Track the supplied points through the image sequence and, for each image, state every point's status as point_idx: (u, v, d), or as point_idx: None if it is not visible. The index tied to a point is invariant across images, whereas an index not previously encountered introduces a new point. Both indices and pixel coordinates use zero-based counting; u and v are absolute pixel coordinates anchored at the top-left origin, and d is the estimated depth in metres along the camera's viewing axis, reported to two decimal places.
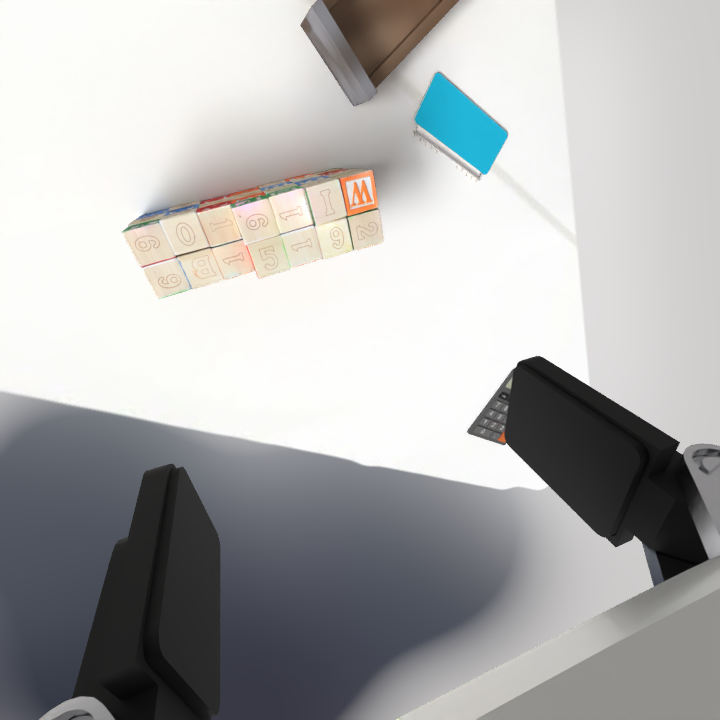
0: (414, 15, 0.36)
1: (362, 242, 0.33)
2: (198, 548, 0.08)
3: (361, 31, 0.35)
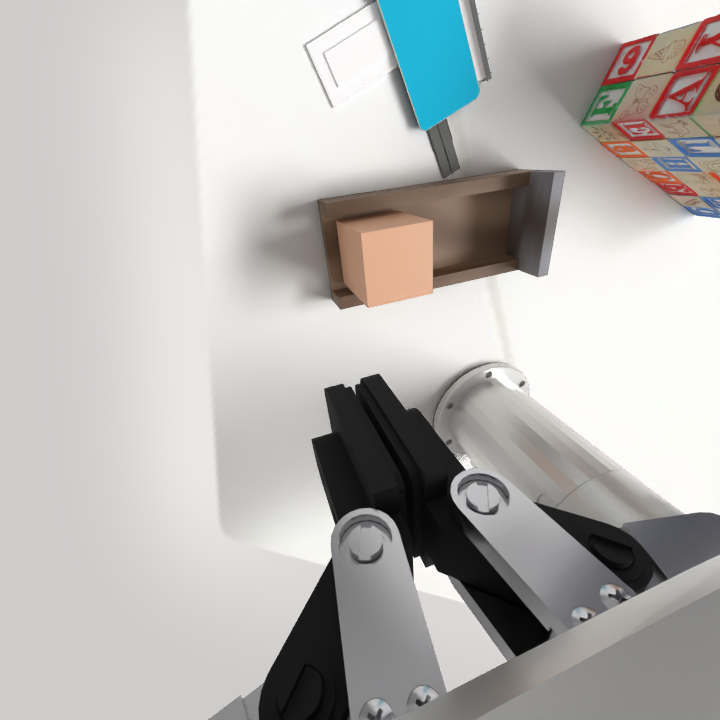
0: (422, 208, 0.29)
1: None
2: None
3: (476, 227, 0.32)
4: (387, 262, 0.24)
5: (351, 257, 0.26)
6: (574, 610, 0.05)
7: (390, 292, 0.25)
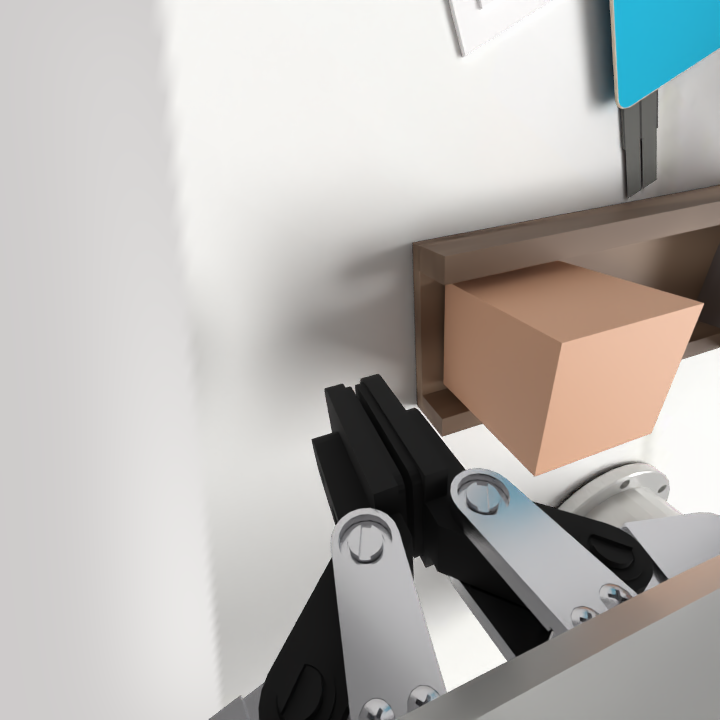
0: None
1: None
2: None
3: (661, 280, 0.19)
4: (593, 393, 0.11)
5: (490, 363, 0.13)
6: (574, 610, 0.05)
7: (582, 444, 0.12)
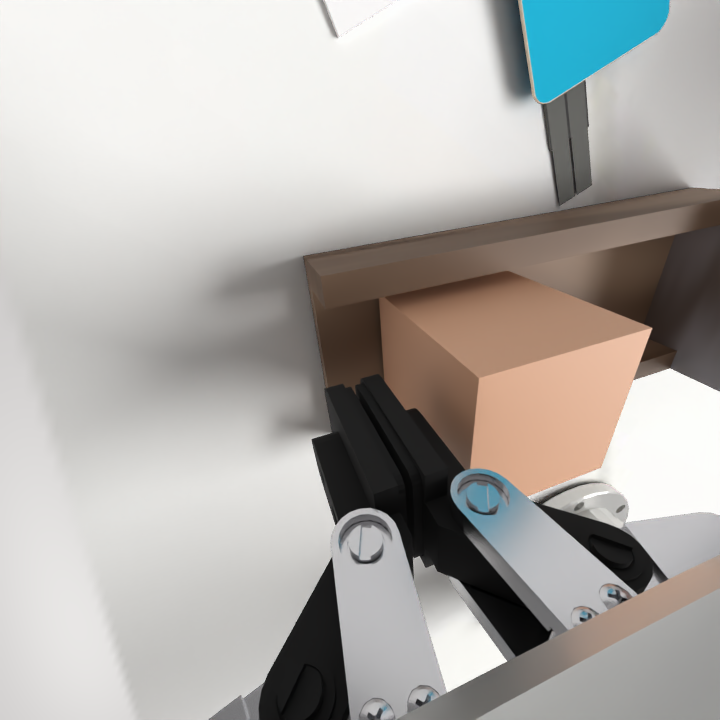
0: None
1: None
2: None
3: (604, 296, 0.17)
4: (526, 430, 0.09)
5: (420, 390, 0.11)
6: (574, 610, 0.05)
7: (518, 484, 0.10)
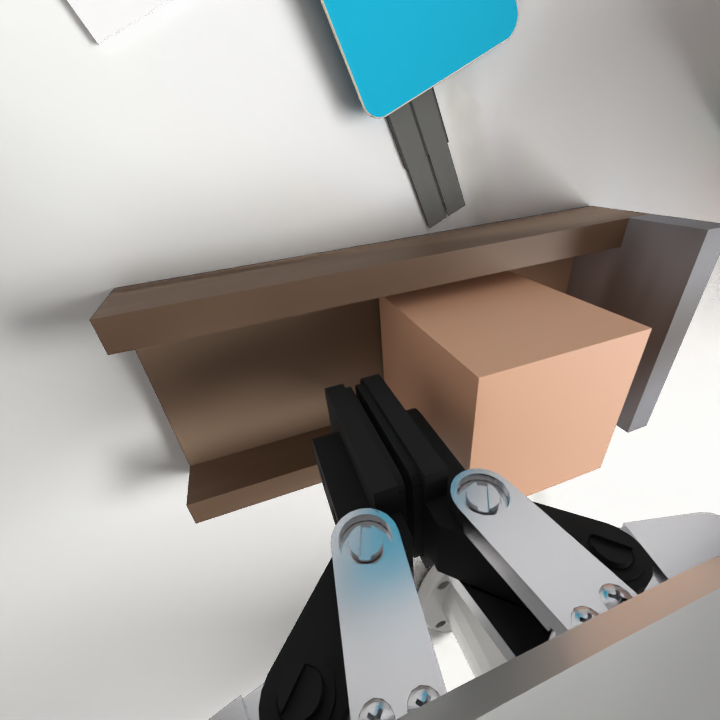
0: None
1: None
2: None
3: None
4: (526, 430, 0.09)
5: (420, 389, 0.11)
6: (574, 610, 0.05)
7: (518, 483, 0.10)
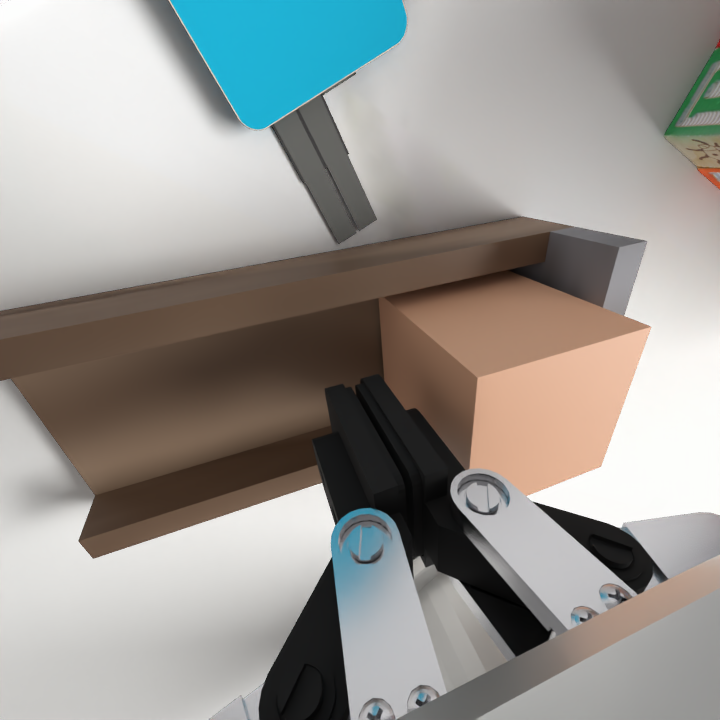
0: None
1: None
2: None
3: None
4: (525, 429, 0.09)
5: (420, 389, 0.11)
6: (574, 610, 0.05)
7: (518, 483, 0.10)
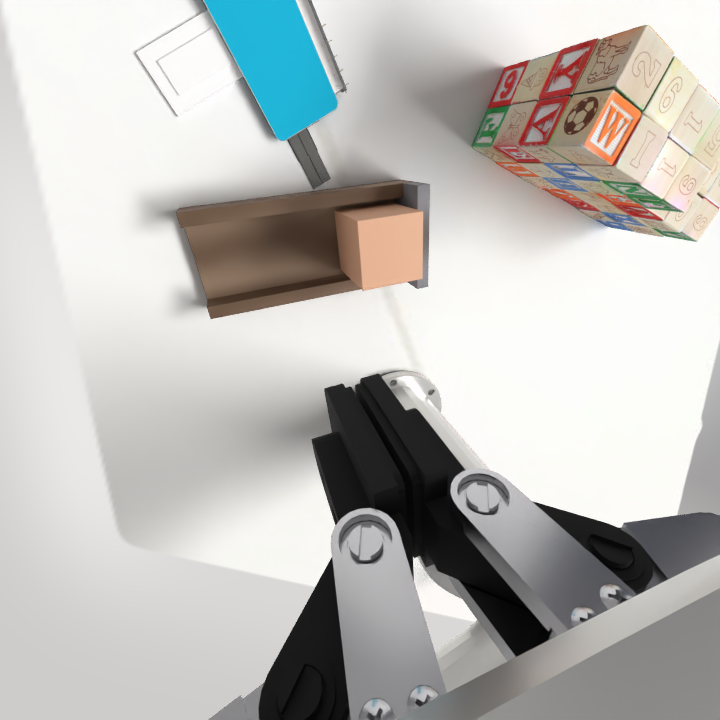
0: (295, 217, 0.29)
1: (661, 55, 0.21)
2: None
3: None
4: (380, 249, 0.26)
5: (348, 244, 0.28)
6: (574, 610, 0.05)
7: (383, 277, 0.27)
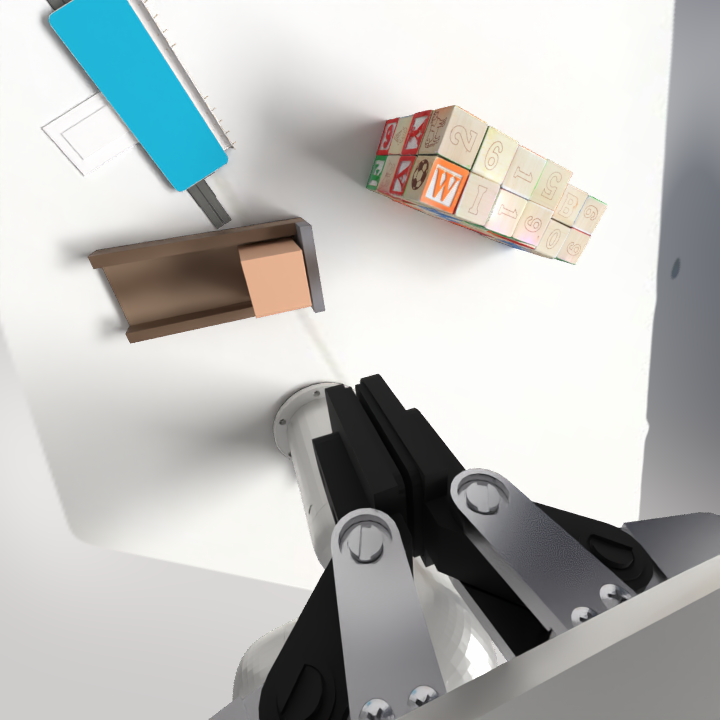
0: (203, 254, 0.33)
1: (475, 127, 0.25)
2: None
3: None
4: (267, 282, 0.30)
5: None
6: (574, 610, 0.05)
7: (274, 305, 0.31)
